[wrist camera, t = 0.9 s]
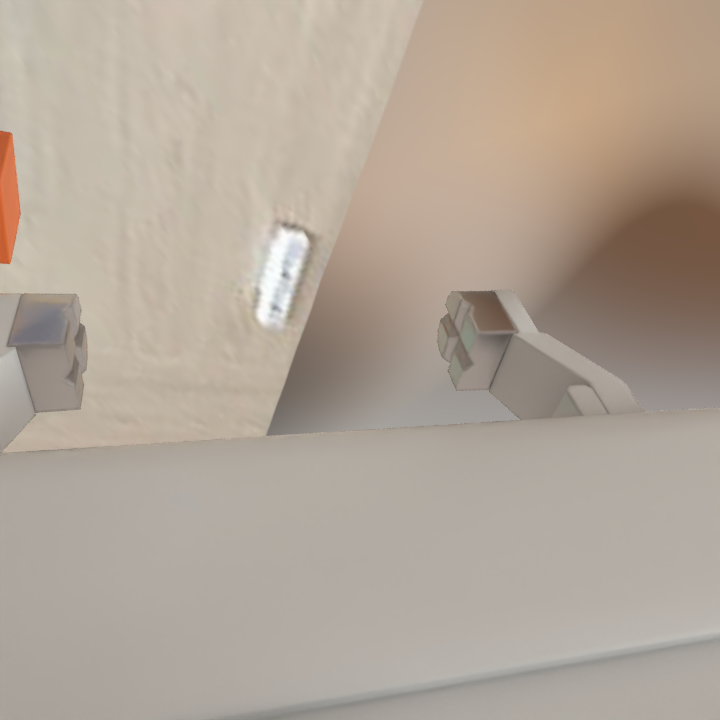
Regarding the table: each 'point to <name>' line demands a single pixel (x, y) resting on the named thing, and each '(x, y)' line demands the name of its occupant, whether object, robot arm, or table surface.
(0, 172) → the orange and cream bar
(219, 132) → the table surface
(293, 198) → the table surface
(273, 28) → the table surface
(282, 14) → the table surface
